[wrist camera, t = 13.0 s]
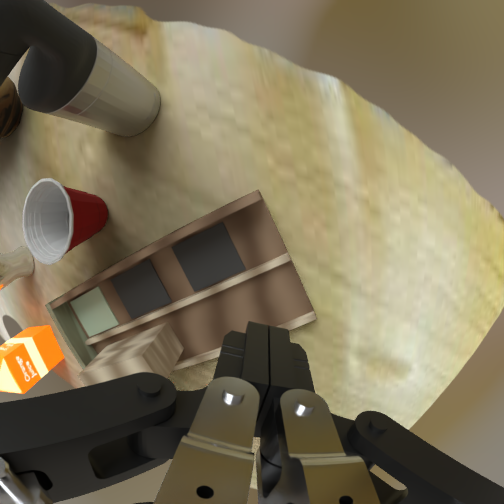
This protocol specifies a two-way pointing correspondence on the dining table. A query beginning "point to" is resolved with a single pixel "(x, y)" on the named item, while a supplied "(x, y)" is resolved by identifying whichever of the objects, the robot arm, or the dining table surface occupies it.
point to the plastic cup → (59, 219)
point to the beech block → (135, 356)
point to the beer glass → (15, 265)
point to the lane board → (204, 300)
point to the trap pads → (193, 264)
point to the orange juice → (28, 358)
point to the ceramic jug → (9, 108)
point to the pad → (94, 312)
